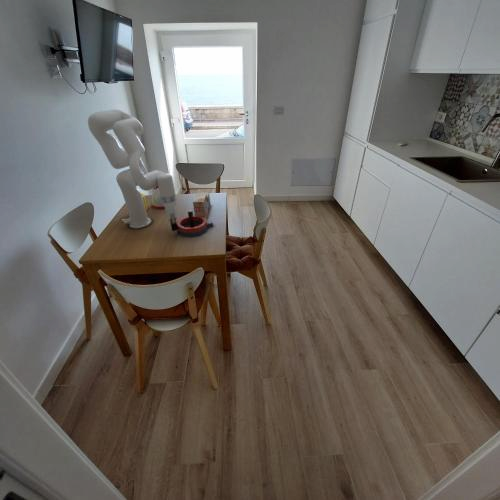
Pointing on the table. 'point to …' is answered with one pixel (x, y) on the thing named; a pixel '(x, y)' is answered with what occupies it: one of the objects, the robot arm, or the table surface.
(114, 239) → the table surface
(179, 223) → the red ring
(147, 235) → the table surface
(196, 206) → the stack of blocks
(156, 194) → the white rounded dome
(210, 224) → the slate ring
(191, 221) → the ring peg
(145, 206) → the tape roll
